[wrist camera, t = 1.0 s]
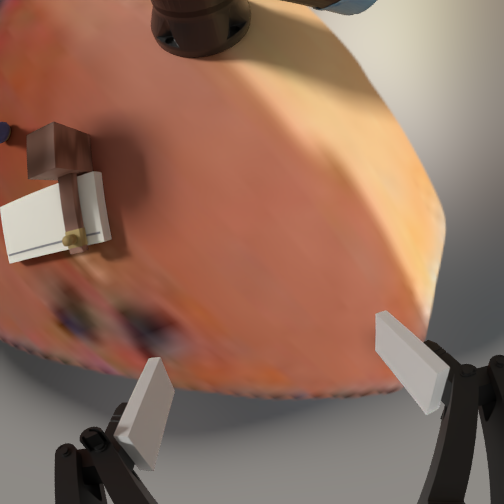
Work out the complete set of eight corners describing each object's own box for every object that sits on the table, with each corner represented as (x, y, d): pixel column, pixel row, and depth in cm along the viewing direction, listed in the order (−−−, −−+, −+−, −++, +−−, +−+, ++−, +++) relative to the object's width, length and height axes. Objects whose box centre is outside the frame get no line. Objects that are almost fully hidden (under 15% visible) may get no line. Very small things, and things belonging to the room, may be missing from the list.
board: (8, 206, 35) (-1, 207, 32) (101, 172, 35) (93, 171, 33) (17, 260, 37) (9, 263, 34) (111, 239, 37) (104, 241, 35)
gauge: (64, 144, 34) (26, 135, 24) (89, 134, 34) (53, 121, 24) (78, 249, 37) (41, 264, 27) (104, 244, 37) (69, 259, 28)
